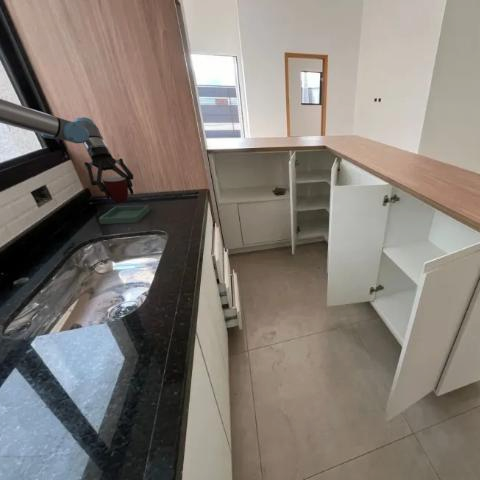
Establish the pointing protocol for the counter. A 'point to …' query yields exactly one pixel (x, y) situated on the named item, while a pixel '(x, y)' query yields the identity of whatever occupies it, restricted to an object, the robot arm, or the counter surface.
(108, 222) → the tray
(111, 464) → the counter surface
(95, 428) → the counter surface
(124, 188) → the mug
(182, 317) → the counter surface
